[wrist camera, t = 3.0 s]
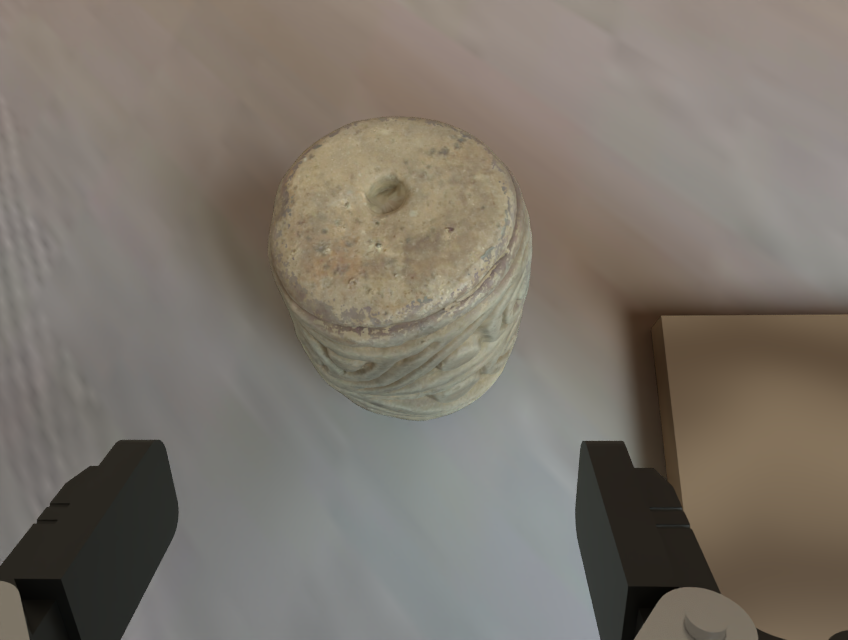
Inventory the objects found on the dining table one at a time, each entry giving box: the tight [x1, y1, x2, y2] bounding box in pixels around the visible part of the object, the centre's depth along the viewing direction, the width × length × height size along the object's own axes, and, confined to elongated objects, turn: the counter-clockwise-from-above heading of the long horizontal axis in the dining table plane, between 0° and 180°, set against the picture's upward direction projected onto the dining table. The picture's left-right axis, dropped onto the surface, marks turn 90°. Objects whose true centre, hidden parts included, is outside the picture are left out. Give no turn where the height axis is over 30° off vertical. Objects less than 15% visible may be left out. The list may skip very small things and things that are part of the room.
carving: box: [268, 116, 532, 421], centre depth 22 cm, size 6×8×12 cm
